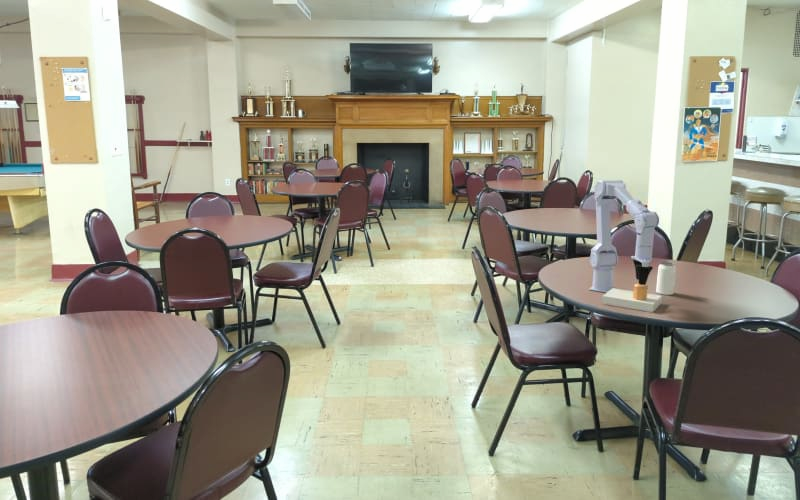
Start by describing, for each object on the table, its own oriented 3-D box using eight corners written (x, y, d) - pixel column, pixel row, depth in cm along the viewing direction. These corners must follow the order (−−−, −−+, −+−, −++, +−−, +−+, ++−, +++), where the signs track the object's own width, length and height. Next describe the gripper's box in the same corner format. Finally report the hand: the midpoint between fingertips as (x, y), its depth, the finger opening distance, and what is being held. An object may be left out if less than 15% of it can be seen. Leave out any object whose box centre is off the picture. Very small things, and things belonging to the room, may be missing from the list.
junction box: (612, 295, 246) (613, 280, 244) (661, 303, 236) (662, 287, 235) (601, 303, 234) (603, 288, 233) (652, 312, 224) (654, 296, 223)
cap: (640, 296, 234) (641, 283, 233) (649, 299, 230) (650, 286, 229) (630, 297, 232) (631, 284, 231) (638, 300, 228) (640, 287, 227)
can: (672, 291, 252) (675, 262, 249) (674, 296, 246) (677, 266, 243) (655, 290, 254) (658, 261, 251) (656, 294, 248) (659, 264, 245)
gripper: (630, 241, 235) (627, 276, 238) (635, 248, 221) (631, 286, 224) (650, 242, 233) (646, 277, 236) (656, 249, 219) (652, 287, 222)
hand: (640, 281), depth 230 cm, fingers open, 7 cm apart
